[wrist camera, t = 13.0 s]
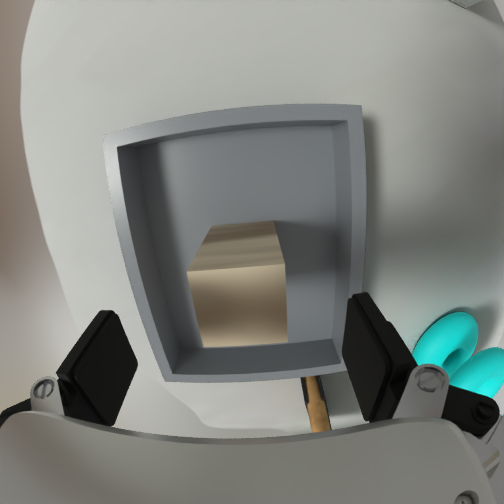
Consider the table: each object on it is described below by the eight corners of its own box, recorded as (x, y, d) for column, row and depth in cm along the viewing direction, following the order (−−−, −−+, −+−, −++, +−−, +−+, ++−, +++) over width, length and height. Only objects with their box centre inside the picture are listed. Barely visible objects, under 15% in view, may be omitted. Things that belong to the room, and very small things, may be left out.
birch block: (211, 226, 20) (186, 271, 12) (273, 220, 20) (284, 263, 12) (219, 281, 22) (203, 347, 14) (277, 276, 21) (287, 341, 14)
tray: (130, 137, 18) (102, 135, 14) (339, 114, 18) (361, 105, 14) (175, 349, 25) (165, 381, 21) (338, 338, 25) (350, 369, 21)
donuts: (520, 369, 16) (461, 431, 19) (479, 323, 25) (431, 379, 28) (503, 347, 14) (425, 427, 17) (448, 294, 23) (391, 361, 26)
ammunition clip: (297, 364, 26) (314, 467, 15) (315, 360, 26) (339, 461, 15) (313, 417, 30) (326, 497, 18) (327, 413, 29) (344, 492, 18)
